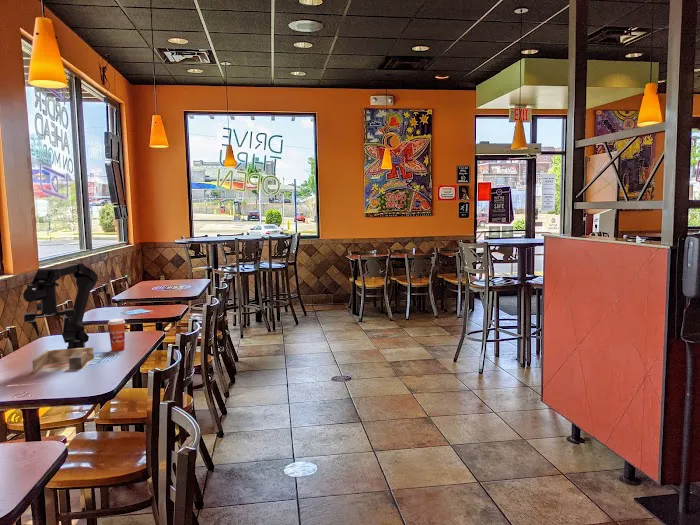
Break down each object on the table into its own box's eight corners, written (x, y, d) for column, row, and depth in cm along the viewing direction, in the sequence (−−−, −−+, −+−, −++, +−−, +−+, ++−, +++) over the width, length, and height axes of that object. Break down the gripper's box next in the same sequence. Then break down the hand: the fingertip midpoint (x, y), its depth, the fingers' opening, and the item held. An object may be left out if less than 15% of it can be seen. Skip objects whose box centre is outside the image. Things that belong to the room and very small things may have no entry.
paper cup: (109, 352, 244) (107, 322, 243) (108, 348, 251) (106, 319, 249) (128, 350, 247) (126, 320, 246) (126, 346, 254) (124, 317, 253)
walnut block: (87, 362, 226) (87, 351, 226) (81, 368, 217) (81, 357, 216) (76, 363, 225) (75, 352, 225) (69, 369, 216) (68, 358, 215)
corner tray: (94, 359, 232) (93, 347, 232) (84, 370, 216) (83, 357, 215) (47, 362, 228) (46, 350, 228) (33, 374, 212) (32, 360, 211)
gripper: (71, 293, 234) (73, 328, 236) (21, 298, 224) (24, 334, 225) (74, 296, 225) (76, 333, 226) (22, 301, 215) (25, 339, 216)
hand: (51, 335), depth 224 cm, fingers open, 9 cm apart
